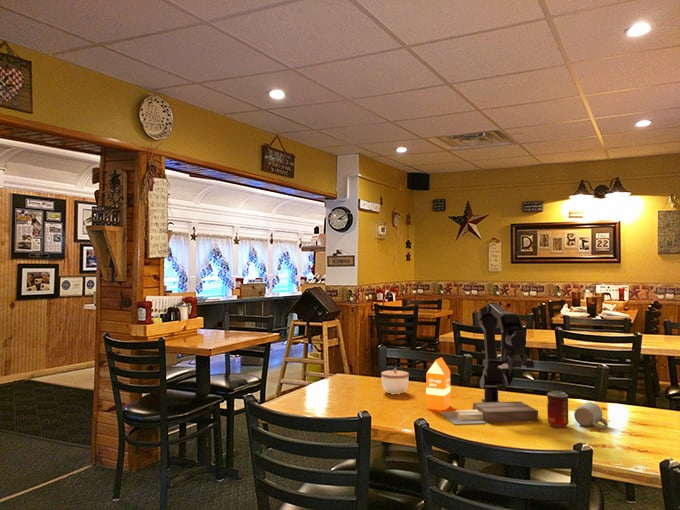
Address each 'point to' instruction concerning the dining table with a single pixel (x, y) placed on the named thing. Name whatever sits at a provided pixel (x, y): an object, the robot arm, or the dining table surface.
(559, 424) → the soda can
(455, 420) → the rubber mat
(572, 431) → the dining table surface
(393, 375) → the lidded bowl
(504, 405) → the walnut stand
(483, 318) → the robot arm
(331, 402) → the dining table surface
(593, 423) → the ceramic mug
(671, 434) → the dining table surface
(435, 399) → the orange juice
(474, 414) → the number block
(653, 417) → the dining table surface
